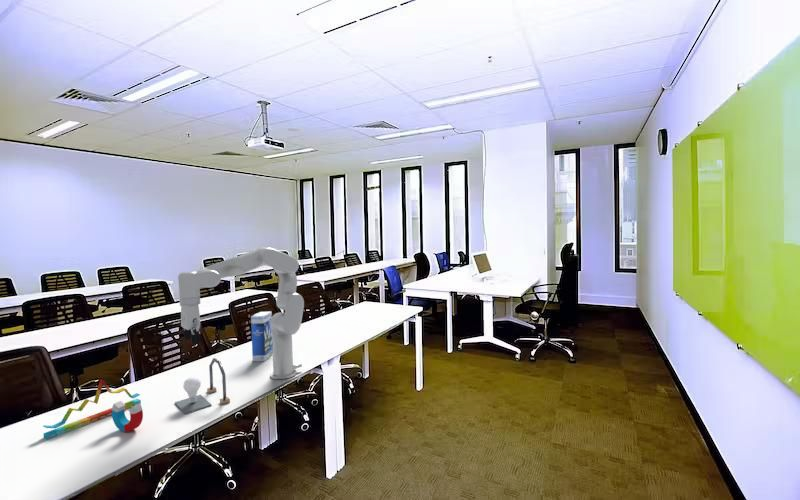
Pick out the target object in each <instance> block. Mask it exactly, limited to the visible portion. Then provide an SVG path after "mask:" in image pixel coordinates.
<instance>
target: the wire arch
mask: <svg viewBox="0 0 800 500" xmlns="http://www.w3.org/2000/svg"><path fill="white" fill-rule="evenodd" d="M214 363H216V364H217V366H218V368H219V371H220V374H221V376H222V377H221V378H222V398H219V403H220V404H221V405H226V404H230V403H231V399H230V398H229V397H228V396H227V383H226V382H227V381H226V373H225V370H224V367H223V365H222V362H221V361H220V360H219V359H217V358H215V357H214V358H212V360H211V362H209V366H208V367H209V368H208V369H209V387H207V388H206V392H207V393H208V394H214V393H216V392H217V387H215V386H214V379H213V378H214V376H213V365H214Z"/></svg>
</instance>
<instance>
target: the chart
mask: <svg viewBox="0 0 800 500" xmlns="http://www.w3.org/2000/svg"><path fill="white" fill-rule="evenodd" d="M103 386H104V388H105V389H106V390H107V392H108V393H109V394H121V393H122V392H125V393H126V395H127V396H128V397H129V398H131V399H132V400H129V401H127V402H123V403H124V404H125V408H124V411H125V410H129V409H131V408H132V407H133V406H135V405H138V404H141V405H142V401H141V399H140V398H139V399H138V398H137V397H139V396H141V394H140V393H137V392H136V393H134V394H131V393H130V392H129V391H128V389H127V388H125V387H121V388H119V389H117V390H111V389H110V387H109V386H108V385H107V383H106V381H105V380H104V379H101V378H100V379H99V382H98V386H97V389H96V394H95V396H94V397H95V398H94V399H93V400H89V399H87V398H85V399H84V400H83V402H82V403H81V404H80V406H79V407H78V408H73V407H69V408H68V409H67V411H66V412H65V415H64V416H63V418H62V419H61V421H59V422H57V423H55V424H53V425H46V424H45V425H43V426H42V427H43V428H46V429H51V430H48V431H46V432H44V433H43V438H44V439H45V440H50V439H53V438H56V437H58V436H60V435H64V434H66V433H69V432H71V431H73V430H76V429H79V428H81V427H84V426H86V425H90V424H92V423H94V422H97V421H99V420H102V419H105V418H108V417H111V416H112V407H111V408H108V409H105V410H102V411H99V412H97V413H95V414H92V415H88V416H87V417H83V418H81V419H78V420H76V421H72V422H71V423H67V424H66V422H67V421H68V418H69V417H70V416H71V414H72V413H73V411H75V412H76V411H77V412H82V411H83V409H85V407H86V406H87V405H88V403H89V402H90V403H94V404H96V405H97V404H98V403H99V400H100V399H99V398H100V395H101V392H102V389H103Z"/></svg>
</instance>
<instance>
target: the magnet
mask: <svg viewBox="0 0 800 500" xmlns="http://www.w3.org/2000/svg"><path fill="white" fill-rule="evenodd" d="M124 403H125V402H123V401H122V400H119V401H117V402H114V403H113V404H112V407H111V408H112V415H111V418H112V421H113V424H114V425H115V427H116V428H117V429H118V430H120V431H121V432H123V433H129V432H132V431H133V430H135V429H137V428H139V427H140V426H141V424H142V423H143V419H144V418H143V417H144V413H143V407H142V403H141V404H138V405H135V406H133V407H131V408H129V409H128V412H129V415H130V417H129V418H130V419H128V418H127V416H126V414H125V410H124V408H125V404H124Z"/></svg>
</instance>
